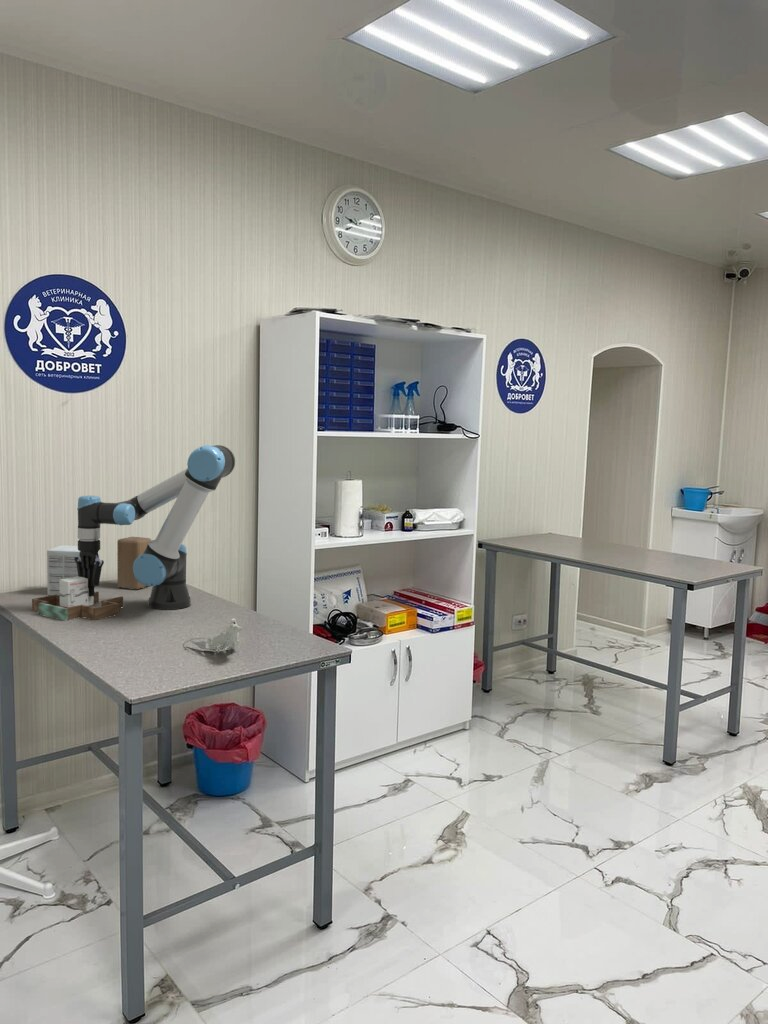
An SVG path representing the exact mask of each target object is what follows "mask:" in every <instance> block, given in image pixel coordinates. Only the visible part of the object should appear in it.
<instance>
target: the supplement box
mask: <svg viewBox="0 0 768 1024" xmlns="http://www.w3.org/2000/svg"><path fill="white" fill-rule="evenodd" d="M79 554H80V551H79V550H78V545H62V544H61V545H59V546H55V547H53V548H50V549H48V550H47V551H46V569H47V571H46V573H47V575H46V576H47V585H46V586H47V596H51V595H56V594H57V595H60V588H59V581H60V580H61V579H66V578H72V577H78V571H77V564H76V562H75V557H78V556H79Z"/></svg>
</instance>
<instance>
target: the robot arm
mask: <svg viewBox="0 0 768 1024" xmlns="http://www.w3.org/2000/svg"><path fill="white" fill-rule="evenodd" d="M186 465H187V468H185V469H183V470H181V471H180V472H177V473H176V474H174V475H172V476H171V477H169V478H167V479H165V480H164V481H161V482H160V483H158V484H156V485H154V486H152V487H150V488H149V489H147V490H145V491H143V492H142V493H139V494H138V495H136V496H133V497H132V498H130V499H128V500H123V501H120V502H105V501H104V502H103V501H101V500H102V499H101V497H100V496H99V495H80V496H79V497H78V499H77V539H78V540H77V546H78V550H79V551H80V554H79V556H78V557H75V562H76V564H77V571H78V577H84V578H87V579H88V606H93V605H94V604H95V603H94V592H95V587H98V586H99V585H100V581H101V573H102V569H103V566H104V563H105V561H104V560H102V559H100V555H99V551H100V550H101V540H100V538H101V524H102V525H104V524H105V525H117V526H118V525H119V526H130V525H132V524H133V522H134V521H138V520H140V519H142V518H144V517H145V516H146V515H147V514H149V513H150V512H153V511H154V510H156V509H158V508H160V507H162V506H164V505H166V504H169V503H170V502H172V501H173V500H175V499H176V500H175V501H174V503H173V504H172V507H171V509H170V510H169V513H168V515H167V517H166V519H165V521H164V522H163V524H162V526H161V528H160V529H159V532H158V534H157V536H156V538H155V539H153V540H152V539H151V541H150V542H149V543H148V545H147V547H146V549H145V551H144V552H143V554H142V555H140V556H139V557H138V558H137V559H136V560H135V561H134V564H133V573H134V575H135V578H136V579H137V580H138V581H139V582H140V583H141V584H143V585H145V586H148V587H151V588H152V589H151V591H150V597H148V607H149V608H151V609H155V610H177V609H179V610H181V609H185V608H188V607H190V606H191V605H192V603H191V601H192V600H191V599H192V598H191V596H190V593H189V590H188V586H187V555H188V553H187V547H186V545H185V544H182V543H183V542H184V540H185V539H186V536H187V534H188V533H189V530H190V529H191V527H192V525H193V524H194V521H195V519H196V517H197V515H198V514H199V512H200V510H201V508H202V506H203V504H204V502H205V500H206V498H207V497H208V494H209V493H210V492H214V491H216V489H217V487H218V485H219V484H220V482H221V480H222V479H223V478H226V477H228V476H229V475H230V474H231V473H232V472H233V471H234V469H235V466H236V458H235V455H234V453H233V451H232V450H231V449H230V448H229V447H226V446H224V445H222V444H221V445H219V444H218V445H208V444H207V445H202V446H199V447H197V448H196V449H194V450H193V451H192V452H191V453H190V455H189V456H188V459H187V464H186Z"/></svg>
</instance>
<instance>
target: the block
mask: <svg viewBox="0 0 768 1024" xmlns="http://www.w3.org/2000/svg"><path fill="white" fill-rule="evenodd" d="M150 541H152V538H150V537H140V536H129V537H128V536H127V537H123V538H119V539H117V587H118V588H119V587H123V588H122V589H124V588H133V589H139V590H141V589H140V588H142V589H144V588H143V587H145V588H147V587H146V586H145V585H143V584H141V583H140V582H139V581H138V580H137V579H136V578H135V575H134V573H133V564H134V561H135V560H136V559H137V558H138V557H139V556H140V555H142V554H143V552H144V551H145V549H146V547H147V545H148V543H149V542H150ZM133 589H132V590H133Z"/></svg>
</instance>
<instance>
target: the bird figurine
mask: <svg viewBox="0 0 768 1024" xmlns="http://www.w3.org/2000/svg"><path fill="white" fill-rule="evenodd" d="M230 620H231V623H230V625H229V627H226V629H224V630H223V631H221V632H220V633H219V634H218V635H217V636H214V637H192V638H189V639H187V640H185V641H184V642H183V644H184V645H186V644H187V643H189V642H190V643H192V644H193V645H195V646H197V647H198V648H199V649H200V650H208V651H213V652H216V651H217V652H216V653H218V652H219V651H221V650H222V651H223V650H224V651H226V649H227V650H228V651H229V650H231V649H235V647H237V646H238V645H239V643H240V640H239V636H240V631H243V630H244V627H242V626H239V625H238V623H237V619H236V618H235V617H234V618H231V619H230ZM194 640H202V641H194ZM207 644H208V646H207Z"/></svg>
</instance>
